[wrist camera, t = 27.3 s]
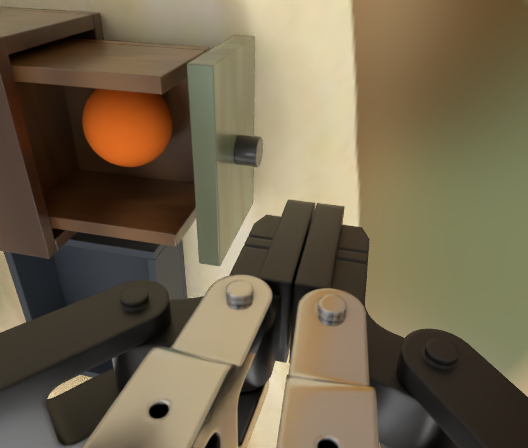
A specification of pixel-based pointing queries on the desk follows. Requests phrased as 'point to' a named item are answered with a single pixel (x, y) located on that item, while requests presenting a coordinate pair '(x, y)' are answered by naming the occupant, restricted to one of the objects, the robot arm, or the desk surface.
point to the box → (93, 273)
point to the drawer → (168, 162)
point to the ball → (127, 126)
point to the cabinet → (16, 136)
